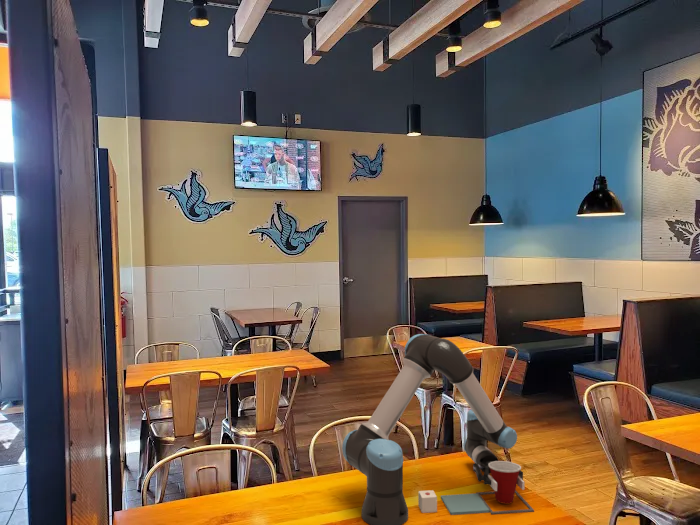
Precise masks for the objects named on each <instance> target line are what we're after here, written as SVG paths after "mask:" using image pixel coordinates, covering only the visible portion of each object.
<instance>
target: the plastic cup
mask: <svg viewBox="0 0 700 525" xmlns="http://www.w3.org/2000/svg"><path fill="white" fill-rule="evenodd" d="M488 466H489V468H490V471H491V473H490V474H491V477H492V478H493V479H494V480H495V481H496V482H497V491H494V490H493V492H495V494H494V497H495V500H496V501H497V502H498V503H501V504H512V503H513V501H514V500H515V495H516V494H515V490H516V489H517V479H518V474H519V471H522V470H521V469H522V466H521V465H520V464H517V463H516V462H512V461H507V460H506V461H504V460H498V461H494V462H490V463H489V464H488ZM516 491H517V490H516Z"/></svg>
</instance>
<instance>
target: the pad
mask: <svg viewBox="0 0 700 525" xmlns="http://www.w3.org/2000/svg"><path fill="white" fill-rule="evenodd" d="M440 499H441V501H442V502H443V504H444V505H445V507H446V509H447V511H448V512H449V514H450V515H451V516H455V515H473V514H485V513H486V514H487V513H488V514H490V512H489V509H488V508H487V506H486V505H485V504H484V502H483V501H482V500H481V498H480V497H479V496H478V494H477V492H476V493H462V494H460V493H458V494H446V495H444V494H443V495H440Z"/></svg>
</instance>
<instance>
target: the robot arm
mask: <svg viewBox="0 0 700 525" xmlns="http://www.w3.org/2000/svg"><path fill="white" fill-rule="evenodd" d="M402 363H403V366H402V368H401V370H400V371H399V372H398V374H397V376H396V377H395V378H394V380H393V382H392V384H391V385H390V387H389V388H388V390H387V391H386V392H385V394H384V396H383V397H382V399H381V400H380V402H379V404H378V405H377V407H376V408H375V410H374V412H373V413H372V415H371V416H370V417H369V419H368V421H366V422H362V423H361V424H360V425H359V427H358V428H357V429H353V430H352V431H351V430H350V431H349V432H348V433H347V434H346V435H345V437H344V439H343V441H342V445H341V451H342V456H343V458H344V459H345V461H346V462H348V464H349V465H350V466H351V467H353V468H355V469H356V470H357V471H359V472H360V473H362V474H363V475H364V476H366V494H365V496H364V497H365V498H364V499H363V503H362V505H361V518H362V520H363V521H364V522H365V523H367V524H368V525H403V524H405V523H406V522H407V521H408V519H409V509H408V508H409V507H408V505H407V502H406V499H405V495H404V492H403V491H404V488H403V487H404V486H403V485H404V484H403V483H404V480H403V479H404V478H403V477H404V476H403V474H404V473H403V471H404V469H403V468H404V467H403V466H404V465H403V464H404V457H403V456H404V453H403V449H402V447H401V446H400V444H398V443H397V442H396V441H394V440H391V439H389V436H390V434H391V432H392V431H393V429H394V428H395V426H396V424H398V421H399V420H400V418H401V417H402V415H403V413H404V412H405V410H406V408H407V407H408V405H409V403H410V402H411V401H412V399H413V397H414V395H415V394H416V392H417V391H418V389H419V388H420V386H421V384H422V383H423V381H424V380H425V379H429V378H431V377H432V375H433V373H434V372H435V371H436V372H438V373H440V374H442V375H444V376H445V377H446V378H447V380H448V382H449V383H450V384H453V385H455V387H456V388H457V389H458V391H459V393H460V394H461V395H462V397H463V399H464V400H465V402H466V404H468V406H469V407H470V408H469V410H468V411H467V416H466V438H465V440H464V442H463V450H464V451H465V453H466V455H467V456H468V457H469V458H470V459H471V460H472V462H473V466H472V468H473V469H472V470H473V472H474V473H475V475H476V478H477V481H478V482H479V483H480V482H482V481H483V485H488V486H490V487H491V489H492V490H493V492H494V491H497V482H496V481H495V480H494V479H493V478H492V474H491V471H490V468H489V466H488V464H489V463H490V462H494V461H499V459H498V457H497V456H496V454H494V452H492V451H491V449H489V448H488V447H487V441H488V442H491V443H492V444H494V445H497V446H499V447H500V448H501V447H502V448H505V449H508V450H509V449H511V448H513V447H514V446H515V444H516V443H517V441H518V433H517V432H516V430H515V429H513V428H512V427H510V426H507V424H506V422H504V420H503V418H502V417H501V415H500V414H499V412H498V410H497V408H496V407H495V406H494V404H493V402H492V401H491V400H490V398H489V396H488V394H487V392H486V391H485V390H484V388H483V387H482V385H481V384H480V381H478V378H477V377H476V375H475V374H474V367H473V365H472V364H471V362H470V360H469V359H468V358H467V357H466V355H465V353H464V352H463V351H462V350H461V349H460V348H459V347H458V346H457V345H456V344H455V343H454V342H452V341H451V340H449V339H445V338H441V337H437V336H435V335H431V334H428V333H427V334H425V333H418V334H414V335H413V336H411V337H409V339H408V340H407V341H406V344H405V347H404V357H403V358H402ZM482 472H483V474H482ZM490 474H491V475H490ZM516 486H518V487H519V489H521V490H522V491H524V490H525V481H524V471H522V470H520V471H519V474H518V479H517V484H516Z"/></svg>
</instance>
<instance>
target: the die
mask: <svg viewBox="0 0 700 525" xmlns="http://www.w3.org/2000/svg"><path fill="white" fill-rule="evenodd" d="M417 491H418V490H417ZM417 493H418V494H417V495H418V497H417V498H418V504H417V505H418V507H419V510H420V512H421V513H423V514H425V513H437V512H438V496H437V495H436V493H435V491H434V490H433V489H432V490H430V489H429V490H419V491H418V492H417Z"/></svg>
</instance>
